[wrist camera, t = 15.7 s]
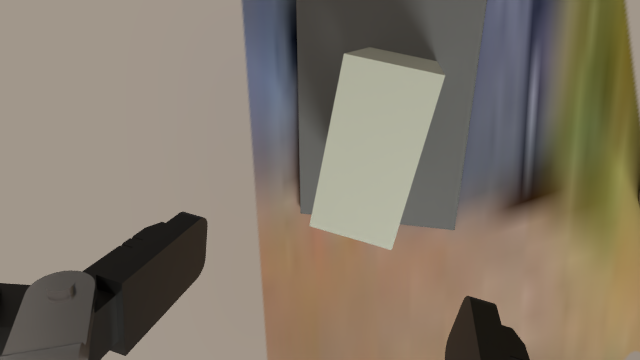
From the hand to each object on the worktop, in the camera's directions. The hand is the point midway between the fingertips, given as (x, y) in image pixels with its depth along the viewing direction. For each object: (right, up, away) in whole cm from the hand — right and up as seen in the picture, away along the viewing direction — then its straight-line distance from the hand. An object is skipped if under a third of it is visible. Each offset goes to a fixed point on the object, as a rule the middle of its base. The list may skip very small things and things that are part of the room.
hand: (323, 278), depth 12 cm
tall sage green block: (+3, +1, +21) cm, 21 cm away
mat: (+6, +9, +25) cm, 27 cm away
